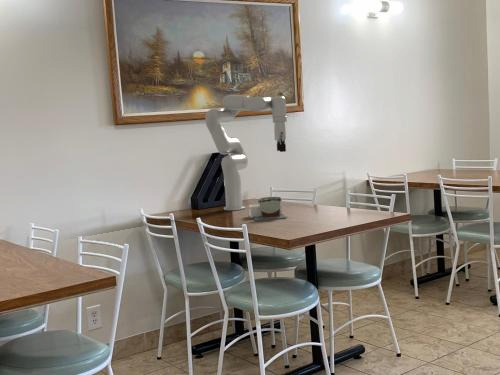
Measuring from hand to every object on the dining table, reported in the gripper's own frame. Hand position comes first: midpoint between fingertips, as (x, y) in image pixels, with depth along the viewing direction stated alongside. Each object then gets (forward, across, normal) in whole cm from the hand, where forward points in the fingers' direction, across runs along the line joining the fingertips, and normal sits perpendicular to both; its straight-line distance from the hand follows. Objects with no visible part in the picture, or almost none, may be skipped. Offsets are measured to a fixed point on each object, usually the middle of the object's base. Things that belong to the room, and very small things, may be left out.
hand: (281, 151), depth 345 cm
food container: (+33, +18, -11) cm, 39 cm away
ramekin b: (+33, +11, -8) cm, 36 cm away
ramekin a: (+33, +11, -16) cm, 39 cm away
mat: (+33, +19, -11) cm, 40 cm away
